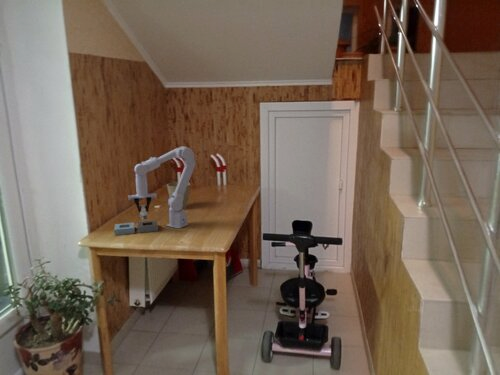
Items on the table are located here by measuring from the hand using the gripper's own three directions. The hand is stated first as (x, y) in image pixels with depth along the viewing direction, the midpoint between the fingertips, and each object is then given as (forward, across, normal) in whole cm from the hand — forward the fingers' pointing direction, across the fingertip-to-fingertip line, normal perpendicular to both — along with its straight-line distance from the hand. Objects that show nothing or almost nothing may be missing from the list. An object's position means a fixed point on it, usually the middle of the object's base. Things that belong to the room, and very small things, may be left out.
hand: (143, 211), depth 210 cm
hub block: (+10, -10, 0) cm, 14 cm away
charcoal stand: (+10, +2, 0) cm, 10 cm away
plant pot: (+10, +23, +38) cm, 46 cm away
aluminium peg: (+4, 0, 0) cm, 4 cm away
